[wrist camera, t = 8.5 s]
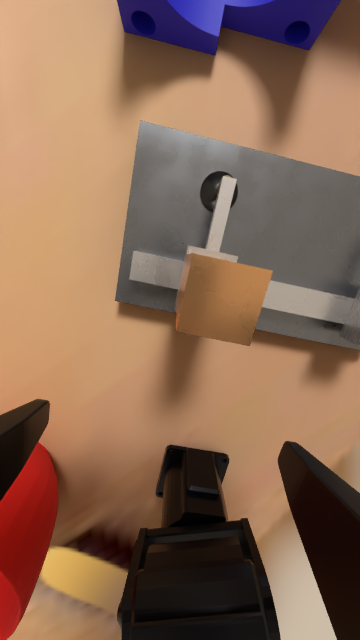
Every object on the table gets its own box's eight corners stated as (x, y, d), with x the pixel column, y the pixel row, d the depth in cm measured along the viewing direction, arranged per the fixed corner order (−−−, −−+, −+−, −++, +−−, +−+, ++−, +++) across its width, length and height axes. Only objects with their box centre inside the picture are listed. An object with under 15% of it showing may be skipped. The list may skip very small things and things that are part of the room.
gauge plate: (362, 346, 21) (416, 373, 16) (119, 297, 19) (101, 310, 15) (426, 203, 18) (516, 185, 13) (143, 132, 16) (129, 82, 12)
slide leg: (213, 309, 18) (246, 357, 9) (174, 301, 18) (173, 343, 9) (243, 190, 16) (321, 114, 7) (200, 180, 15) (228, 89, 7)
